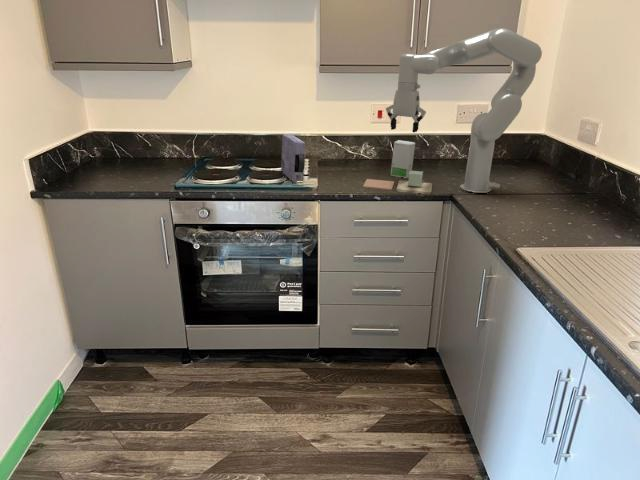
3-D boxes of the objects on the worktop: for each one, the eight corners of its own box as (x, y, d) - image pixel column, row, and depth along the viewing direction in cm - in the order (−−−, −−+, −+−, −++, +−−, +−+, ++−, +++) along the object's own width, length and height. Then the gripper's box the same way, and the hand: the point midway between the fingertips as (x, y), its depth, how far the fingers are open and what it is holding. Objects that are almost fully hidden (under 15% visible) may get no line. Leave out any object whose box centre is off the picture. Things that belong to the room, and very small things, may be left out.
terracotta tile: (394, 182, 216) (394, 181, 216) (391, 190, 205) (391, 188, 205) (366, 180, 218) (367, 178, 218) (362, 187, 207) (362, 186, 207)
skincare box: (390, 176, 226) (393, 141, 220) (395, 173, 232) (398, 139, 226) (407, 178, 223) (411, 144, 217) (412, 175, 228) (415, 141, 222)
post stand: (431, 185, 213) (433, 171, 211) (430, 194, 201) (432, 180, 199) (399, 182, 216) (400, 169, 214) (396, 191, 204) (397, 177, 201)
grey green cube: (421, 183, 210) (422, 171, 208) (421, 186, 205) (422, 174, 203) (408, 182, 211) (409, 170, 209) (407, 185, 206) (409, 173, 204)
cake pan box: (305, 183, 211) (306, 141, 204) (294, 184, 209) (294, 142, 202) (291, 172, 227) (291, 133, 221) (280, 172, 226) (280, 133, 219)
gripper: (431, 87, 195) (427, 131, 201) (392, 85, 204) (389, 127, 210) (423, 89, 189) (419, 134, 195) (383, 86, 198) (380, 129, 205)
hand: (404, 130), depth 203 cm, fingers open, 9 cm apart
